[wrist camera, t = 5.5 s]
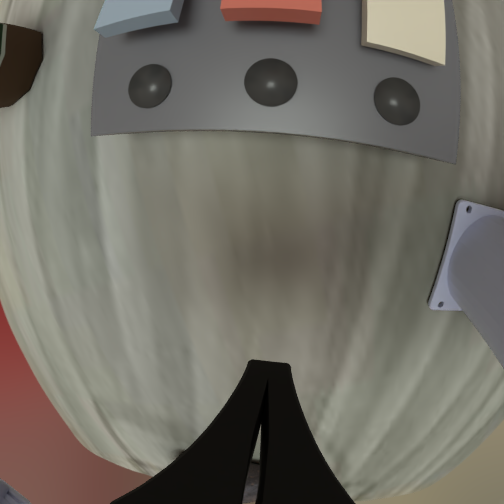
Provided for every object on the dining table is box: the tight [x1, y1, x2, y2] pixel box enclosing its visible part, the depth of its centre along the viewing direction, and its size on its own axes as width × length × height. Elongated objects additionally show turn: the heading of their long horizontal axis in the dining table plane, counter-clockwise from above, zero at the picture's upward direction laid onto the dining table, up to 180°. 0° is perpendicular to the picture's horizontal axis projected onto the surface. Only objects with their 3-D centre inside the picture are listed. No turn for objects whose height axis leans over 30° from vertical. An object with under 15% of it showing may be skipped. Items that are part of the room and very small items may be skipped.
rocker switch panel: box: [91, 0, 460, 164], centre depth 11 cm, size 18×13×4 cm
